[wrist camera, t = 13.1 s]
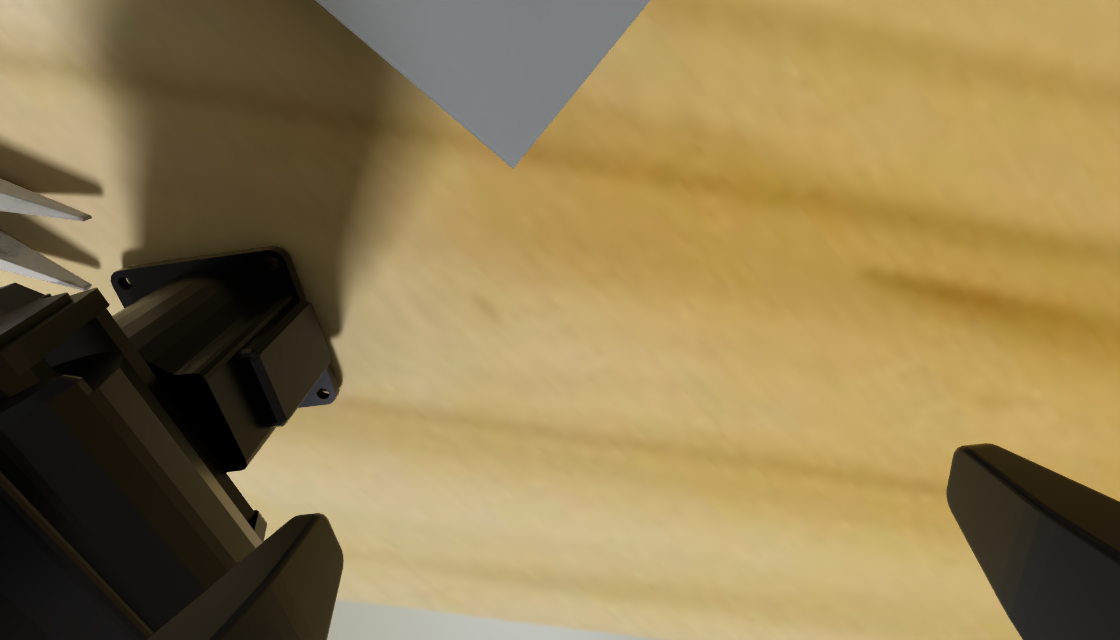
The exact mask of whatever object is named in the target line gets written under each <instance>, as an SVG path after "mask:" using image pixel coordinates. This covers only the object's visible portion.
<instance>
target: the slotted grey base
mask: <svg viewBox="0 0 1120 640" xmlns="http://www.w3.org/2000/svg"><path fill="white" fill-rule="evenodd" d="M315 1H316V2H317V3H319V4H320V5H321V6H322V7H323V8H325V9H326V10H327V11H328V12H329V13H330V14H332V15H333V16H334V17H335V18H336V19H337V20H339V21H340V22H341V23H342V24H343V25H345V26H346V27H347V28H348V29H349V30H350V31H352V32H353V33H354V34H355V35H356V36H357V37H359V38H360V39H361V40H362V41H363V42H365V43H366V44H367V45H368V46H369V47H370V48H372V49H373V50H374V51H375V52H376V53H377V54H379V55H380V56H381V57H382V58H383V59H385V60H386V61H387V62H388V63H389V64H390V65H392V66H393V67H394V68H395V69H396V70H397V71H399V72H400V73H401V74H402V75H403V76H405V77H406V78H407V79H408V80H409V81H410V82H412V83H413V84H414V85H415V86H416V87H417V88H419V89H420V90H421V91H422V92H423V93H425V94H426V95H427V96H428V97H429V98H430V99H432V100H433V101H434V102H435V103H436V104H437V105H439V106H440V107H441V108H442V109H443V110H445V111H446V112H447V113H448V114H449V115H450V116H452V117H453V118H454V119H455V120H456V121H457V122H459V123H460V124H461V125H462V126H463V127H464V128H466V129H467V130H468V131H469V132H470V133H472V134H473V135H474V136H475V137H476V138H477V139H479V140H480V141H481V142H482V143H483V144H484V145H486V146H487V147H488V148H489V149H490V150H492V151H493V152H494V153H495V154H496V155H497V156H499V157H500V158H501V159H502V160H503V161H504V162H506V163H507V164H508V165H509V166H510V167H512V168H514V167H515V166H516V165H517V163H518V162H519V161H520V160H521V158H522V157H523V156H524V155H525V154H526V152H527V151H528V150H529V149H530V147H531V146H532V145H533V144H534V143H535V141H536V140H537V139H538V138H539V136H540V135H541V134H542V133H543V131H544V130H545V129H546V128H547V127H548V125H549V124H550V123H551V122H552V120H553V119H554V118H555V117H556V116H557V114H558V113H559V112H560V111H561V109H562V108H563V107H564V106H565V104H566V103H567V102H568V101H569V100H570V98H571V97H572V96H573V95H574V93H575V92H576V91H577V90H578V88H579V87H580V86H581V85H582V84H583V82H584V81H585V80H586V79H587V77H588V76H589V75H590V74H591V73H592V71H593V70H594V69H595V68H596V66H597V65H598V64H599V63H600V61H601V60H602V59H603V58H604V57H605V55H606V54H607V53H608V52H609V50H610V49H611V48H612V47H613V46H614V44H615V43H616V42H617V41H618V39H619V38H620V37H621V36H622V34H623V33H624V32H625V31H626V30H627V28H628V27H629V26H630V25H631V23H632V22H633V21H634V20H635V19H636V17H637V16H638V15H639V14H640V12H641V11H642V10H643V9H644V7H645V6H646V5H647V4H648V3H649V1H650V0H315Z"/></svg>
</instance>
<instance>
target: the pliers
mask: <svg viewBox="0 0 1120 640" xmlns="http://www.w3.org/2000/svg"><path fill="white" fill-rule="evenodd" d="M0 211H5V212H13V213H21V214H29V215H37V216H45V217H54V218H62V219H70V220H78V221H85V220H88V219H91V218H92V217H91V216H90V215H88V214H86V213H83V212H81V211H78V210H76V209H74V208H71V207H69V206H66V205H64V204H61V203H59V202H57V201H54V200H52V199H49V198H47V197H44V196H42V195H40V194H37V193H35V192H32V191H30V190H27V189H25V188H23V187H20V186H18V185H15V184H13V183H11V182H8V181H6V180H3V179H1V178H0ZM0 270H3V271H7V272H11V273H15V274H19V275H23V276H27V277H31V278H35V279H39V280H43V281H47V282H51V283H55V284H59V285H63V286H67V287H71V288H76V289H80V290H84V291H85V290H87V289H89V288H90V287H91V286H92V285H91V284H90V283H88V282H86V281H85V280H83V279H81V278H80V277H78V276H76V275H75V274H73V273H71V272H70V271H68V270H66V269H65V268H63V267H61V266H60V265H58V264H56V263H54V262H53V261H51V260H49V259H48V258H46V257H44V256H43V255H41V254H39V253H38V252H36V251H34V250H33V249H31V248H29V247H28V246H26V245H24V244H23V243H21V242H19V241H17V240H16V239H14V238H12V237H11V236H9V235H7V234H6V233H4V232H2V231H1V230H0Z"/></svg>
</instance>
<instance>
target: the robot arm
mask: <svg viewBox="0 0 1120 640" xmlns="http://www.w3.org/2000/svg"><path fill="white" fill-rule="evenodd" d="M270 257H274V258H276V259H277V260H278V262H279V266H275V265H274V264H272V262H271V261H270ZM126 278H128V279H129V280H130V281H131V282H132V284H133V285H131V284H129V283H128V282H127V281H126ZM111 283H112V286H113V288H114V290H115V291H116V293H117V295H118V297H119V299H120V301H121V303H122V305H123V306H124V308H125V309H123V310H121V311H120V312H118V313H116V314H115V315H113V316H111V314H110V313H109V311H108V310H107V309H106V308H107V307H108V306H109V304H108V302H107V301H106V299H105V298H104V297H103V295H102V294H101V292H100V291H99V290H98V288H93V289H90V290H86V291H83V292H80V293H77V294H74V295H71V296H70V295H69V294H68V293H62V294H59V295H55V296H51V295H50V294H47V295H44V294H42V293H39V292H37V291H34V290H32V289H29V288H27V287H24V286H22V285H20V284H17V283H13V284H10V285H7V286H4V287H1V288H0V640H327V637H328V632H329V628H330V623H331V619H332V614H333V610H334V605H335V601H336V597H337V592H338V588H339V583H340V579H341V574H342V570H343V553H342V549H341V547H340V545H339V543H338V540H337V538H336V536H335V534H334V532H333V529H332V527H331V525H330V523H329V521H328V519H327V517H326V516H325V515H323V514H320V513H315V514H306V515H299V516H295V517H293V518H292V519H291V520H289V521H288V522H287V523H286V524H284V525H283V526H282V527H281V528H280V529H278V530H277V531H276V532H275V533H274V534H272V535H271V536H270V537H269V538H267V539H266V540H265V541H264V536H265V532H266V527H267V522H266V521H265V520H264V518H263V517H262V515H261V514H260V513H259V511H257V510H254V511H253V509H252V508H251V507H250V505H249V504H248V503H247V501H246V500H245V498H244V497H243V496H242V494H241V493H240V492H239V490H238V489H237V487H236V486H235V485H234V483H233V482H232V481H231V479H230V478H229V476H228V475H227V474H226V473H227V472H231V471H240V470H243V469H245V468H246V467H247V466H248V464H249V463H250V462H251V460H252V459H253V458H254V456H255V455H256V454H257V452H258V451H259V450H260V448H261V447H262V446H263V444H264V443H265V442H266V440H267V439H268V438H269V436H270V435H271V434H272V432H273V431H274V430H275V428H276V427H281V426H284V425H285V424H286V423H287V422H288V420H289V419H290V418H291V416H292V415H293V413H294V412H295V411H296V409H297V408H300V407H309V406H317V405H326V404H330V403H332V402H333V401H334V400H335V399H336V397H337V396H338V394H339V386H338V383H337V380H336V378H335V375H334V372H333V370H332V367H331V364H330V362H331V361H332V357H331V355H330V352H329V349H328V347H327V344H326V341H325V339H324V336H323V333H322V331H321V328H320V325H319V322H318V320H317V317H316V314H315V312H314V309H313V306H312V304H311V303H310V302H309V301H308V300H307V299H306V298H305V295H304V292H303V290H302V287H301V284H300V282H299V279H298V276H297V274H296V271H295V268H294V266H293V263H292V260H291V258H290V256H289V254H288V253H287V252H286V251H285V250H284V249H282V248H280V247H276V246H270V247H263V248H256V249H249V250H242V251H235V252H228V253H220V254H213V255H206V256H199V257H192V258H185V259H178V260H170V261H163V262H156V263H149V264H142V265H135V266H128V267H124V268H122V269H120V270H118V271H116V272H114V273H113V274H112V276H111ZM321 388H323V389H326V390H328V392H329V394H328V393H324V392H322V390H321ZM947 501H948V505H949V507H950V510H951V512H952V514H953V515H954V517H955V519H956V521H957V523H958V525H959V527H960V529H961V530H962V532H963V534H964V536H965V538H966V540H967V542H968V543H969V545H970V547H971V549H972V551H973V553H974V555H975V557H976V558H977V560H978V562H979V564H980V566H981V568H982V570H983V571H984V573H985V575H986V577H987V579H988V581H989V583H990V585H991V586H992V588H993V590H994V592H995V594H996V596H997V598H998V599H999V601H1000V603H1001V605H1002V606H1003V608H1004V610H1005V612H1006V613H1007V615H1008V617H1009V619H1010V620H1011V622H1012V623H1013V625H1014V626H1015V628H1016V630H1017V631H1018V633H1019V634H1020V636H1021V637H1022V639H1023V640H1120V502H1119V501H1117V500H1115V499H1113V498H1110V497H1108V496H1106V495H1104V494H1102V493H1100V492H1097V491H1095V490H1093V489H1091V488H1089V487H1086V486H1084V485H1082V484H1080V483H1078V482H1076V481H1073V480H1071V479H1069V478H1067V477H1065V476H1062V475H1060V474H1058V473H1056V472H1054V471H1051V470H1049V469H1047V468H1045V467H1043V466H1041V465H1038V464H1036V463H1034V462H1032V461H1030V460H1027V459H1025V458H1023V457H1021V456H1019V455H1017V454H1014V453H1012V452H1010V451H1008V450H1006V449H1003V448H1001V447H999V446H996V445H994V444H987V443H985V444H975V445H965V446H961V447H958V448H957V449H956V451H955V452H954V455H953V459H952V465H951V470H950V475H949V480H948V485H947ZM263 541H264V542H263Z"/></svg>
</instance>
